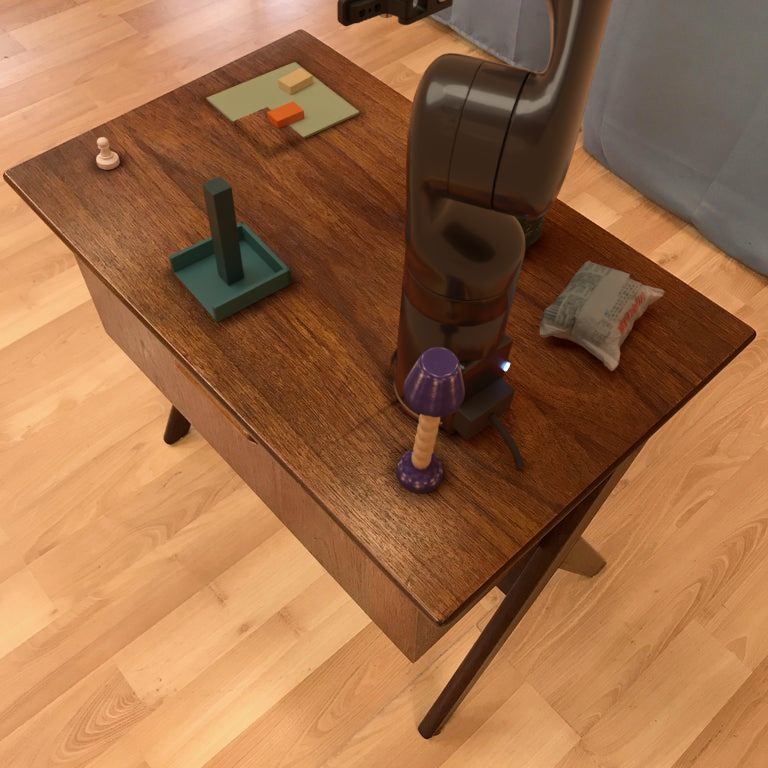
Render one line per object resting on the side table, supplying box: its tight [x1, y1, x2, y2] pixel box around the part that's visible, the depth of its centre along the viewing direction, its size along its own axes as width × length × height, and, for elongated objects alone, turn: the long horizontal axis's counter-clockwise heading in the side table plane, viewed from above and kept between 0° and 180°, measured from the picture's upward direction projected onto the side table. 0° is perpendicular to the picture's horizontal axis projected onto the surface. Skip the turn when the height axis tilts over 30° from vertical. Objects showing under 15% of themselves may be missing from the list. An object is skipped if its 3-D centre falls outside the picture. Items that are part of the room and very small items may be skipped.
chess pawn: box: [95, 136, 121, 171], centre depth 93 cm, size 3×3×4 cm
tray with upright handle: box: [168, 175, 292, 323], centre depth 79 cm, size 9×9×13 cm
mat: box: [206, 61, 360, 139], centre depth 102 cm, size 14×14×1 cm
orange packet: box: [266, 102, 304, 129], centre depth 100 cm, size 2×4×1 cm, turn 128°
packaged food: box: [538, 260, 665, 372], centre depth 80 cm, size 9×12×5 cm
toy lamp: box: [395, 347, 465, 494], centre depth 64 cm, size 5×5×17 cm
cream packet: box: [278, 67, 314, 95], centre depth 104 cm, size 2×4×1 cm, turn 136°
